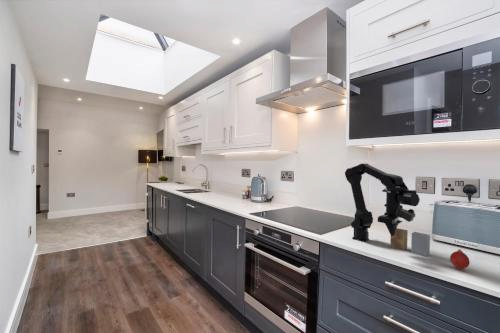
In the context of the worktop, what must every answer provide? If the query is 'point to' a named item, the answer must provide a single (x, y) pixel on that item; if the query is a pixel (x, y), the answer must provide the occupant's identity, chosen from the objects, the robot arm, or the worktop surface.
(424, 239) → the grey block
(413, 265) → the worktop surface
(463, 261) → the onion
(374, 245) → the worktop surface
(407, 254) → the worktop surface
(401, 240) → the walnut block
